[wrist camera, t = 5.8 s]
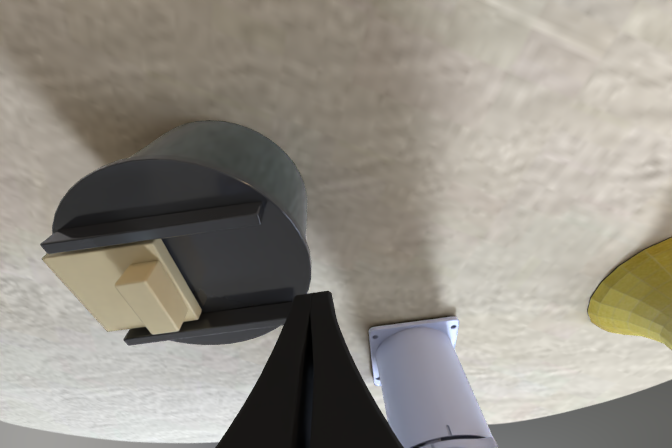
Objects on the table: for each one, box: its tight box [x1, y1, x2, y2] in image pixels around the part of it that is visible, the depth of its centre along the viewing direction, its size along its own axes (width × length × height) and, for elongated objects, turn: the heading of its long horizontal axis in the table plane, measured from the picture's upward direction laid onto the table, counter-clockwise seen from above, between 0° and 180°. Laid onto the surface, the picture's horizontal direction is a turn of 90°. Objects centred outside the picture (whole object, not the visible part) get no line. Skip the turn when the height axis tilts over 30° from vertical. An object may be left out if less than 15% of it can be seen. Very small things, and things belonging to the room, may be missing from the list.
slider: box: [42, 239, 202, 335], centre depth 12 cm, size 4×5×2 cm
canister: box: [40, 120, 311, 345], centre depth 15 cm, size 11×11×8 cm
